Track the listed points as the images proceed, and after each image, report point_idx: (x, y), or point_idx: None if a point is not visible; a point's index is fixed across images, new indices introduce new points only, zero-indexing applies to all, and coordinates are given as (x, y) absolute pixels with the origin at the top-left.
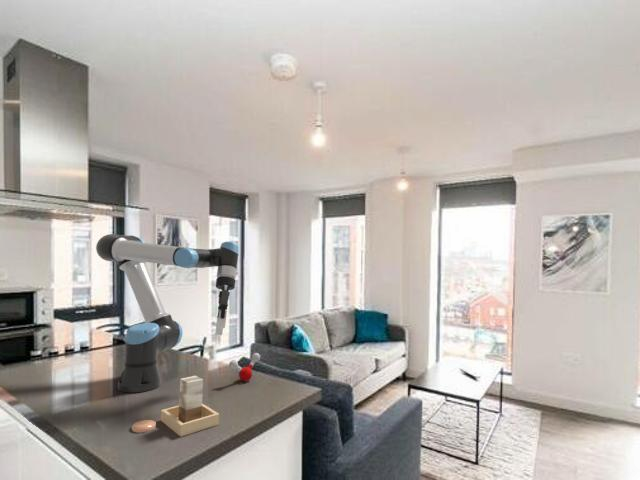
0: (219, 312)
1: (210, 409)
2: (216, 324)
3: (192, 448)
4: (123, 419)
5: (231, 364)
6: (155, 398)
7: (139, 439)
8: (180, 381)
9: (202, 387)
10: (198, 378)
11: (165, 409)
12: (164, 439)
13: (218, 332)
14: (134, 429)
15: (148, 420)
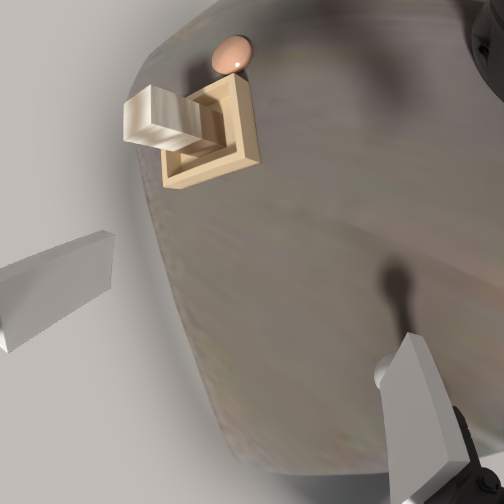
0: (6, 270)
1: (186, 175)
2: (430, 394)
3: None
4: (295, 18)
5: (383, 360)
6: (406, 77)
7: (203, 57)
8: (154, 86)
9: (139, 142)
10: (132, 129)
11: (231, 81)
12: (184, 93)
13: (398, 365)
14: (222, 42)
15: (242, 58)
